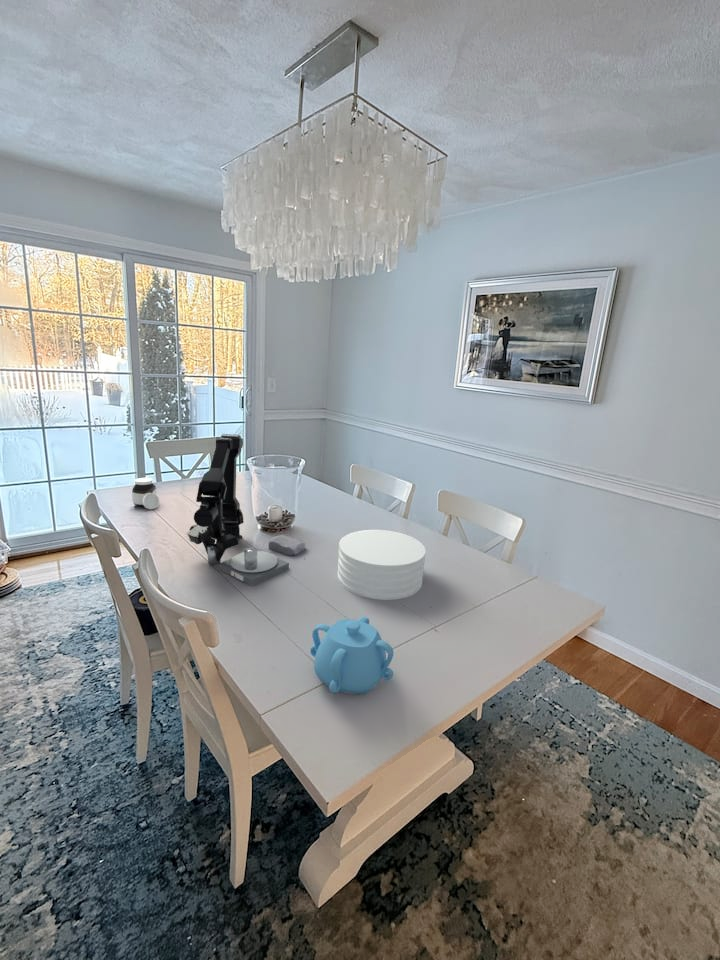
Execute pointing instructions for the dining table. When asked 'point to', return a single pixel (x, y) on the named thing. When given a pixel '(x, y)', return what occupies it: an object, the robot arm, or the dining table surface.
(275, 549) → the stone block
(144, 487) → the spread jar
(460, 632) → the dining table surface
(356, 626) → the decorative pot
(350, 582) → the plate stack
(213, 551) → the cylinder
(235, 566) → the scale
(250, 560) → the cylinder
